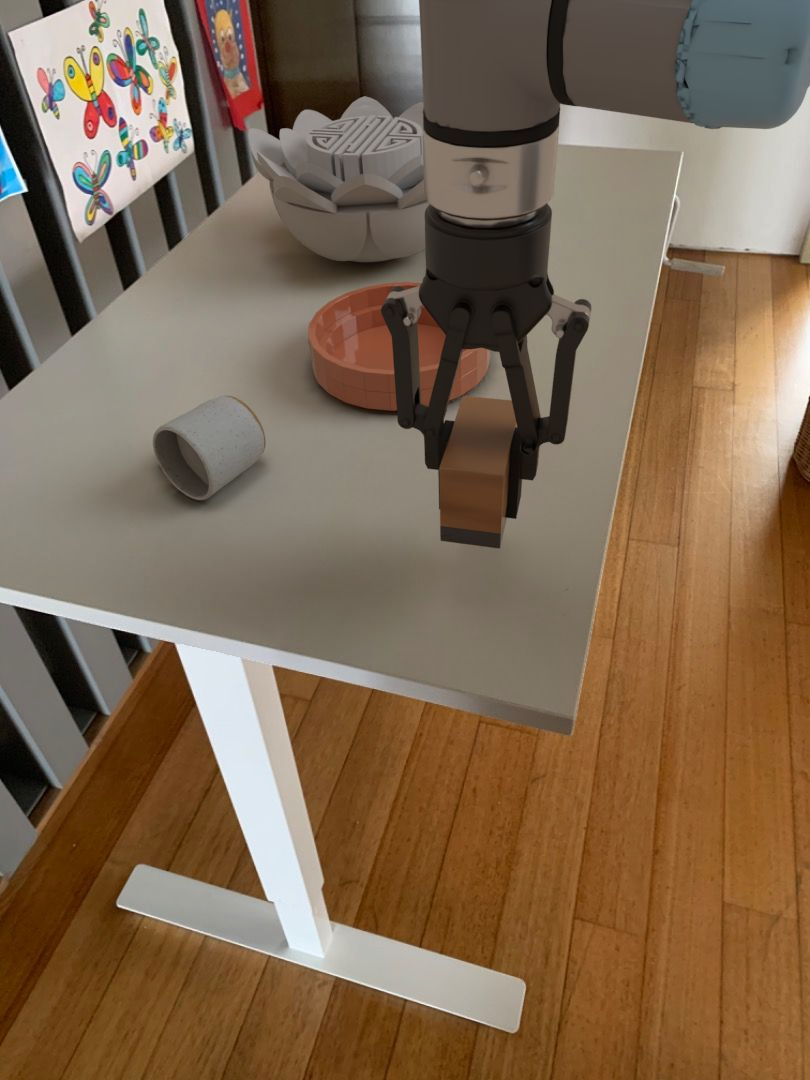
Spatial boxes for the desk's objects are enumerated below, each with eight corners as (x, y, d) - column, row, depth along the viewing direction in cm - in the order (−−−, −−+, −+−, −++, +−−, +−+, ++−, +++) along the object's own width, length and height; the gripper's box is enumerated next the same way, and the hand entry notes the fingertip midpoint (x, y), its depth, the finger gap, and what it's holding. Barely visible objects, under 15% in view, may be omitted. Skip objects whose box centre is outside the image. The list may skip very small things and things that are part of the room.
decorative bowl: (305, 197, 131) (292, 91, 120) (493, 210, 124) (496, 99, 114) (222, 287, 110) (197, 169, 100) (443, 309, 103) (441, 184, 93)
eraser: (462, 466, 69) (462, 395, 64) (516, 473, 68) (521, 400, 64) (440, 541, 63) (439, 467, 58) (500, 549, 62) (503, 475, 57)
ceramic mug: (277, 465, 82) (263, 398, 77) (218, 512, 77) (199, 444, 72) (200, 433, 87) (182, 367, 81) (140, 475, 82) (117, 409, 77)
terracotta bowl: (501, 327, 99) (503, 287, 96) (472, 423, 85) (473, 381, 82) (342, 315, 103) (338, 276, 100) (289, 405, 89) (283, 364, 86)
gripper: (326, 220, 48) (358, 520, 65) (639, 238, 45) (591, 550, 61) (361, 172, 54) (382, 460, 70) (644, 185, 50) (598, 485, 66)
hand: (480, 502), depth 65 cm, fingers closed on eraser, 4 cm apart
